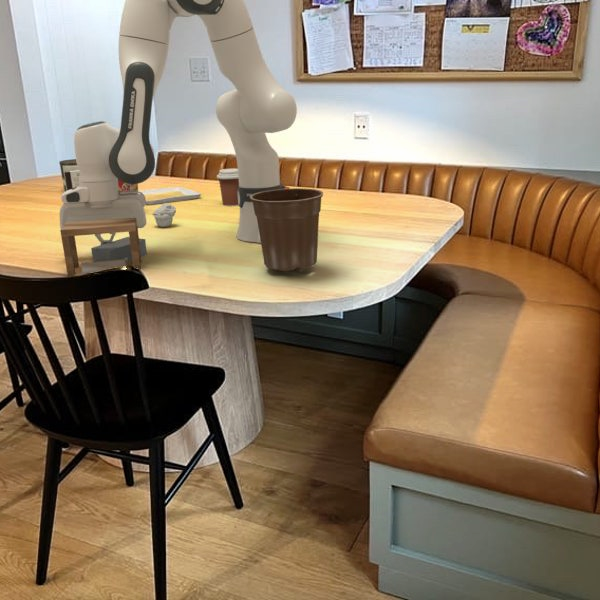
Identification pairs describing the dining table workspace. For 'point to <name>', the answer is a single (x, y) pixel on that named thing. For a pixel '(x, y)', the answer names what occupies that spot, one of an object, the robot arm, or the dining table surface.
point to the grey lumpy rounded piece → (164, 215)
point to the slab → (116, 250)
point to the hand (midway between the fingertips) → (107, 247)
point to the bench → (99, 228)
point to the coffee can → (67, 169)
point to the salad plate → (187, 192)
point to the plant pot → (288, 226)
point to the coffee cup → (229, 186)
